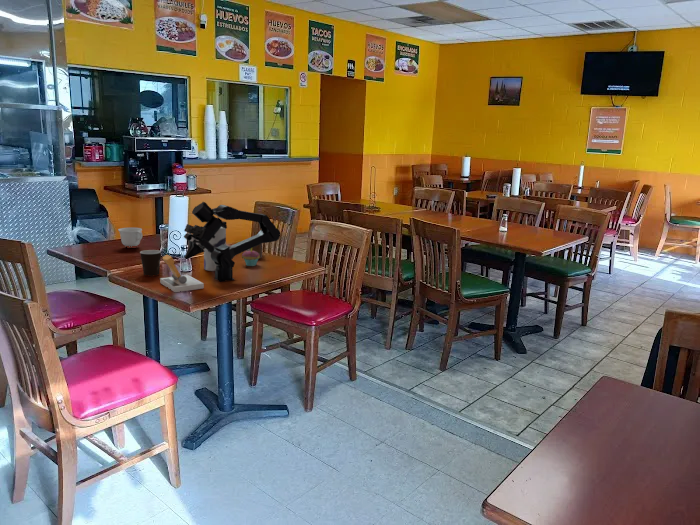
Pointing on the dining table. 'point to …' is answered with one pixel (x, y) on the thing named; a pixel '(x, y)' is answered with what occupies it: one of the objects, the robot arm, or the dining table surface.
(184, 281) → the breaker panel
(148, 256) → the coffee mug
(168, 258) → the lever
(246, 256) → the cupcake
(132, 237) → the teacup
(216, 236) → the container
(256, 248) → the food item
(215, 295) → the dining table surface
